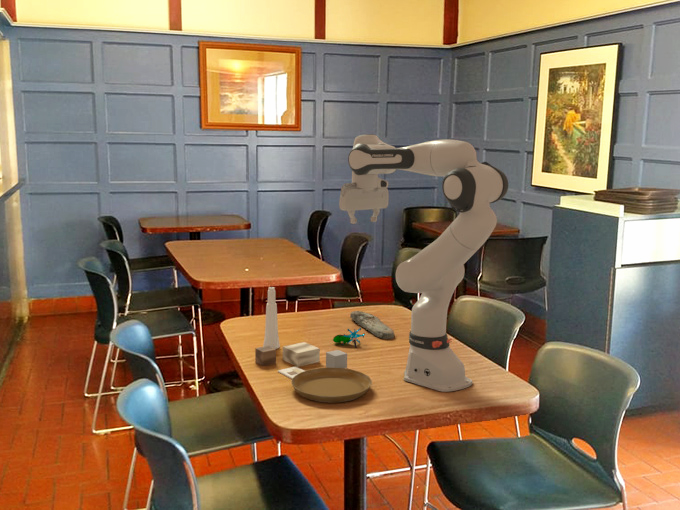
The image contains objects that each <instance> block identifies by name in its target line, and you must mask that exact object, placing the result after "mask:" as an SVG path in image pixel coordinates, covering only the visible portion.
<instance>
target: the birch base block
mask: <svg viewBox="0 0 680 510" xmlns="http://www.w3.org/2000/svg"><path fill="white" fill-rule="evenodd" d="M320 350H321V349H320V348H319V347H317V346H315V345H313V344H310V343H308V342H305V341H302V342H298V343H293V344H288V345H284V346H282V361H284V362H286V363H288V364H290V365H292V366H294V367H295V366H296V367H298V368H300V367H305V366H308V365H313V364H317V363H320V357H321V356H320V355H321V351H320Z"/></svg>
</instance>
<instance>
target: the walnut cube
mask: <svg viewBox="0 0 680 510" xmlns="http://www.w3.org/2000/svg"><path fill="white" fill-rule="evenodd" d="M254 348H255V347H254ZM254 351H255V356H254V357H255V361H254V362H255V363H256V364H257V365H259V366H262V367H266V366H271V365H276V364H277V349H274V348H272V347H270V346H264V347H263V346H260V347H256V348H255V350H254Z"/></svg>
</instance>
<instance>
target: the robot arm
mask: <svg viewBox="0 0 680 510" xmlns="http://www.w3.org/2000/svg"><path fill="white" fill-rule="evenodd" d="M476 151H477V150H476V149H475V147H474V146H473V145H472V144H471V143H470V142H468V141H463V140H460V139H459V140H457V139H435V140H428V141H424V142H421V143H416V144H411V145H408V146H402V147H395V146H393V145H390V144H388V143H385V142H384V141H382V140H381V139H380V138H379V137H378V136H377V135H376V134H372V133H367V134H360V135H358V136H356V137H354V141H353V146H352V148H351V149H350V151H349V154H348V158H347V160H348V161H347V162H348V166H349V168H350V170H352V171H351V182H350V183H349V182H346V183H344V184H343V185H342V186H341V187H340V195H339V204H338V207H339V209H340V211H343V212H347V215H348V217H349V219H350V223H349V224H352V225H355V224H357V222H358V217H357V218H356V216H355V214H356V211H365V210H366V211H367V210H372V212H373V213H372V216H370V222H371V223H377V221H378V216H379V214H380V212H381V210H380V209H387V208H388V206H389V200H390V199H389V196H390V195H389V193H390V192H389V190H388V187H389V181H388V180H385V179H383V178H381V177H379V175H389V174H393V173H395V172H396V171H397V170H400V171H406V172H411V173H415V174H416V173H417V174H421V175H425V176H430V177H443V178H442V183H441V188H442V193H443V196H444V198H445V199H446V201H447V203H448V204H450V205H451V208H452V210H453V211H455V212H458V213H459V214H458V215H457V216H456V218H454V220H453V221H452V222H451V223H450V224H449V226H448V227H446V229H445V230H444V231H443V232H442V233H441V234H440V235H439V236H438V237H437V238H436V239H435V240H434V241H433V242H431V243H430V244H428V245H427V246H425V247H424V248H423V249H422V250H420V251H419V252H417V253H416V254H415V255H413V256H412V257H410V258H408V259H406V260H404V261H402V262H400V263H399V264H398V265H397V267H396V270H395V281H396V283H397V286H398V288H400V290H402V291H403V292H405V293H410V294H411V293H414V294H421V295H420V297H419V299H418V300H417V301H416V302H415V303H414V305H413V306H412V308H411V317H410V318H411V319H410V321H411V323H410V331H409V334H408V342H409V348H408V349H409V350H408V355H407V362H406V366H405V370H404V373H403V374H404V377H403V381H405V382H408V383H412V384H415V385H418V386H421V387H424V388H425V387H426V388H427V389H428V388H429V389H432V390H435V391H439V392H442V393H444V392H447V393H449V392H455V391H459V390H463V389H467V388H468V387H471V386H472V384H473V379H471V378H469V377H467V376H466V368H465V365H464V362H463V361H462V360H461V359H460V358H459V357H458V355H457V354H456V353H455V352H454V350H453V349H452V348H451V347H450V343H453V341H452V340H453V338H448V334H447V320H448V319H447V318H448V310H449V306H450V302H451V300H452V297H453V294H454V292H455V290H456V288H457V286H459V284H460V283H461V282H462V281H463V279H464V277H465V271H466V270H465V264H466V263H467V261H468V260H470V258H472V256H474V254H475V253H477V252H478V250H480V248H481V247H482V246H483V245H484V244H485V243H486V242H487V240H488V239H489V238H490V237H491V234H492V233H493V231H494V230H495V228H496V227H497V222H498V220H497V215H496V214H495V212H494V210H493V209H492V208H491V206H490V205H491V204H494V203H496V202H499V201H500V200H502V199H503V198H504V197H505V196H506V195H507V192H508V190H509V181H508V177H507V176H506V174H505V173H504V172H503V171H502V170H501V169H499V168H497V167H495V166H493V165H492V164H490V163H489V162H487V161H482V162H479V161H478V159H477V157H478V156H477V152H476Z"/></svg>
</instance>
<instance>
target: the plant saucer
mask: <svg viewBox="0 0 680 510" xmlns="http://www.w3.org/2000/svg"><path fill="white" fill-rule="evenodd" d="M372 381H373V380H372V379H371V378H370V376H368V374H366V373H364V372H361V371H359V370H355V369H350V368H328V367H320V368H311V369H307V370H304V372H301V373H299V374H297V375H296V376H294V377H293V379H291V386H292V387H293V390H294V391H295V392H296V393H297V394H299V395H300V396H301V397H303V398H305V399H307V400H310V401H313V400H314V401H313V402H318V401H319V403H326V402H328V403H329V404H330V403H333V404H335V403H338V404H339V403H344V402H350V401H353V400H357V399H358V398H361V397H363V395H364V394H366V393H367V392H368V391H369V389H370V388H371V386H372V383H373V382H372Z"/></svg>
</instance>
